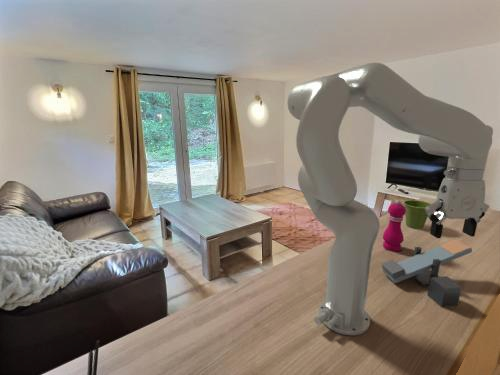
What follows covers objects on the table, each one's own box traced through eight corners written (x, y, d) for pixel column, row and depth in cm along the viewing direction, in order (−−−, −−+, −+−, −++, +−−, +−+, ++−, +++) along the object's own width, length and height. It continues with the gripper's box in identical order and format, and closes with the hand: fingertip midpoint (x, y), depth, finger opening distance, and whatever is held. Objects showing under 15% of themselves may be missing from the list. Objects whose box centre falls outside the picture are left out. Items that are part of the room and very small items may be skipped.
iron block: (441, 307, 73) (444, 288, 71) (427, 295, 77) (430, 277, 76) (457, 305, 73) (461, 286, 72) (442, 294, 78) (446, 276, 76)
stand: (422, 287, 81) (427, 262, 79) (401, 269, 90) (405, 247, 88) (446, 285, 82) (451, 260, 80) (423, 268, 91) (427, 245, 89)
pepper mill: (404, 253, 101) (412, 203, 96) (384, 251, 103) (390, 202, 98) (398, 244, 108) (405, 197, 103) (379, 242, 110) (385, 196, 104)
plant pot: (401, 219, 134) (404, 198, 131) (429, 224, 127) (433, 202, 124) (398, 227, 124) (401, 204, 122) (428, 233, 118) (432, 209, 115)
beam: (395, 283, 82) (392, 274, 81) (383, 272, 87) (381, 263, 86) (472, 252, 82) (470, 242, 81) (455, 243, 88) (454, 234, 87)
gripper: (444, 178, 63) (432, 243, 68) (509, 176, 65) (494, 239, 69) (422, 172, 71) (412, 231, 75) (481, 170, 72) (468, 228, 77)
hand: (451, 235), depth 72 cm, fingers open, 9 cm apart
